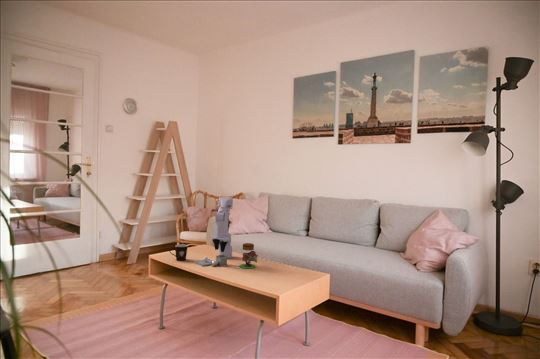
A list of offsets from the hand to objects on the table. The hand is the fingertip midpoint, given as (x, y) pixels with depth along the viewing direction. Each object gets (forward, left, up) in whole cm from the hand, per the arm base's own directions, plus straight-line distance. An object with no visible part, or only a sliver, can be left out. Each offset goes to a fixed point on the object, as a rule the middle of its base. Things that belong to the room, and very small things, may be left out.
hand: (219, 250), depth 241 cm
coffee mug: (+17, -26, -10) cm, 32 cm away
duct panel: (+6, -8, -10) cm, 14 cm away
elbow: (+1, +1, -10) cm, 10 cm away
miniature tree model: (-14, +14, -10) cm, 22 cm away
